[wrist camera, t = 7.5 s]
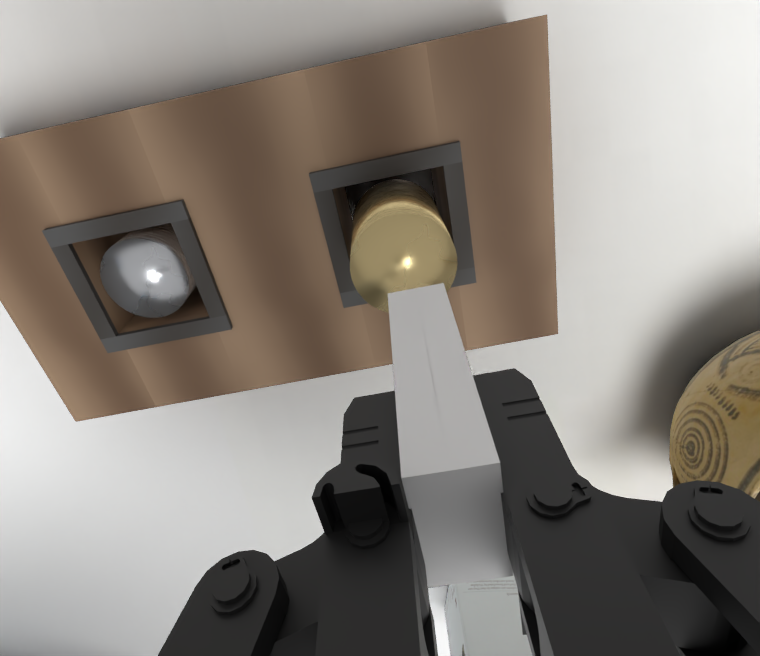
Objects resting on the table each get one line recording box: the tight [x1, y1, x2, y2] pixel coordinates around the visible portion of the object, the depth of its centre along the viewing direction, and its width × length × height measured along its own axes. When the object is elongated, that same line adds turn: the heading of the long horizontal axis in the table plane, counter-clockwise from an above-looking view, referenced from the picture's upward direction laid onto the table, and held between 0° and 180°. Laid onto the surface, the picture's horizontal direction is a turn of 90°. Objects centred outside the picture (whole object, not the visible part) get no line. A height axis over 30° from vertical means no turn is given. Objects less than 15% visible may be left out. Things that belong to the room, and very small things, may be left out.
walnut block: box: [0, 15, 558, 421], centre depth 26 cm, size 26×14×6 cm, turn 101°
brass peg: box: [350, 179, 457, 313], centre depth 21 cm, size 4×4×6 cm
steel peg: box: [100, 223, 196, 318], centre depth 26 cm, size 4×4×6 cm
